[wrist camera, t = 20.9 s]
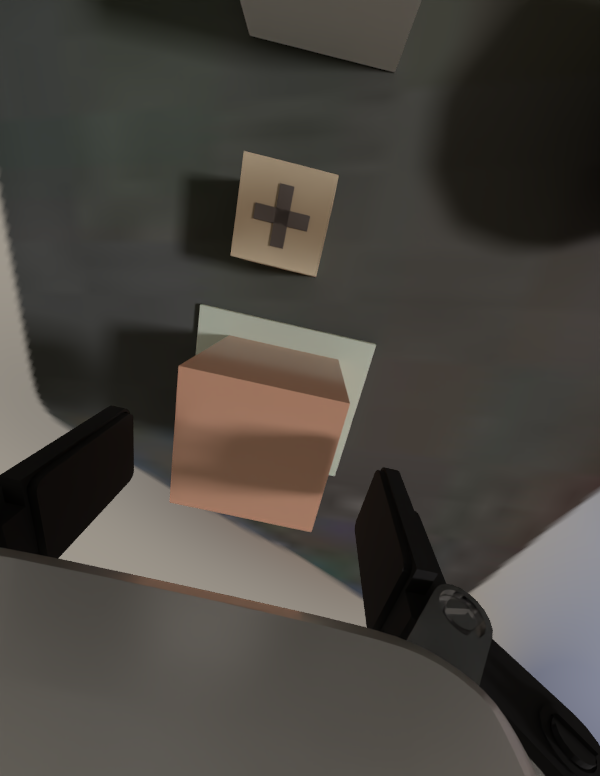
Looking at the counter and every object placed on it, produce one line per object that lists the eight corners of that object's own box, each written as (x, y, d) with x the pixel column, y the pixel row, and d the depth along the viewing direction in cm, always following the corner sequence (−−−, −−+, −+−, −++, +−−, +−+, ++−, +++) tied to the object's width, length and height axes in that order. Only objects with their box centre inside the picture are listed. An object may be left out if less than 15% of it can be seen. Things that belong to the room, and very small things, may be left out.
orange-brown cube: (229, 335, 18) (178, 365, 11) (338, 359, 18) (349, 403, 12) (217, 431, 20) (169, 502, 14) (313, 452, 21) (311, 532, 14)
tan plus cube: (261, 182, 16) (243, 149, 12) (333, 200, 16) (338, 174, 12) (249, 261, 17) (229, 255, 13) (315, 277, 17) (315, 276, 13)
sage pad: (202, 303, 18) (200, 304, 17) (374, 343, 18) (376, 345, 18) (189, 440, 21) (187, 443, 21) (334, 472, 22) (334, 476, 21)
